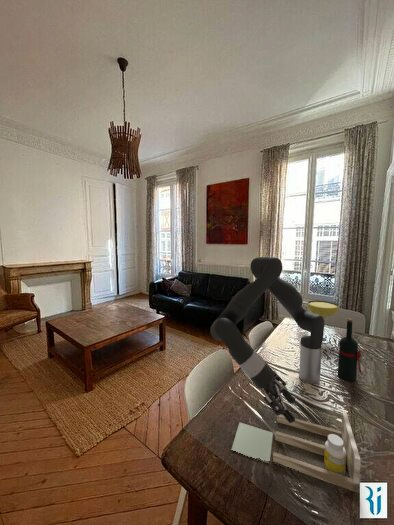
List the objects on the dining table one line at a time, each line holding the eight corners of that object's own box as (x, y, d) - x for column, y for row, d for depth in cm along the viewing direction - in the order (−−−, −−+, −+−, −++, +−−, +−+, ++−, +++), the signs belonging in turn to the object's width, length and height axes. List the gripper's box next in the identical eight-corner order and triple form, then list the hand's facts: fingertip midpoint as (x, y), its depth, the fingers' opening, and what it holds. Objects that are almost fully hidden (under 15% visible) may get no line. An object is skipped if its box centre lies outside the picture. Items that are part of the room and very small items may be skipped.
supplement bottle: (325, 457, 71) (327, 428, 70) (346, 467, 67) (347, 438, 66) (322, 470, 67) (323, 440, 66) (343, 483, 63) (345, 451, 62)
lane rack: (277, 419, 86) (277, 395, 85) (344, 438, 77) (346, 412, 76) (273, 462, 69) (273, 432, 68) (358, 493, 61) (360, 459, 60)
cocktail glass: (307, 332, 165) (308, 299, 162) (336, 337, 156) (338, 302, 153) (305, 342, 149) (306, 305, 147) (337, 348, 140) (338, 309, 138)
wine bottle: (358, 387, 104) (362, 324, 101) (334, 376, 112) (337, 318, 109) (364, 380, 108) (368, 320, 105) (341, 371, 116) (343, 315, 114)
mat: (239, 423, 84) (239, 422, 84) (272, 433, 80) (272, 432, 80) (231, 450, 73) (231, 449, 73) (269, 464, 69) (269, 463, 69)
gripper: (261, 374, 66) (303, 422, 62) (267, 352, 79) (301, 391, 75) (243, 387, 68) (282, 434, 65) (251, 363, 81) (284, 401, 78)
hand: (293, 410), depth 70 cm, fingers open, 8 cm apart
